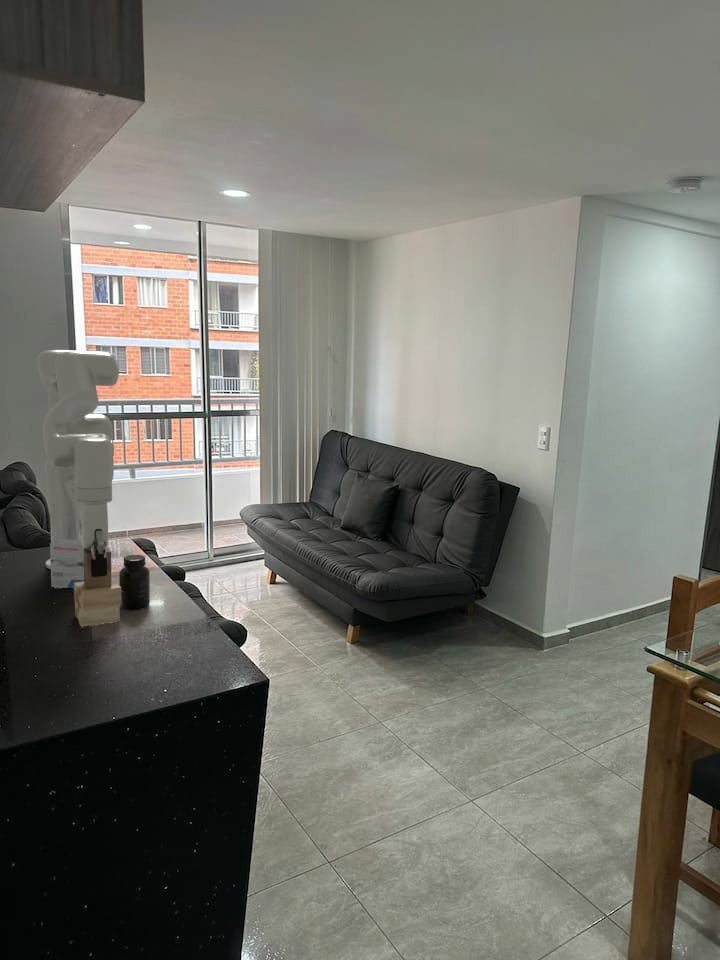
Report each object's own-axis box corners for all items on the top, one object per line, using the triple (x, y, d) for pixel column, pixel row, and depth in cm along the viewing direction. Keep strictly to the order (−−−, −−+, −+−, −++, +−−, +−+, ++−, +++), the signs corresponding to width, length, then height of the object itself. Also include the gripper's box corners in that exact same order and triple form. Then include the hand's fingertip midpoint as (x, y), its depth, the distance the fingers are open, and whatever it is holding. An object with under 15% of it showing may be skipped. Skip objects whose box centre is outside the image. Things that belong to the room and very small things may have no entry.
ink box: (92, 584, 169) (91, 540, 167) (82, 590, 164) (81, 545, 162) (61, 582, 170) (59, 538, 168) (50, 588, 165) (49, 542, 163)
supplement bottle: (113, 608, 153) (112, 559, 151) (130, 599, 159) (130, 551, 157) (139, 612, 151) (138, 562, 149) (155, 603, 158) (155, 555, 156)
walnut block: (84, 582, 147) (83, 548, 145) (107, 580, 149) (107, 546, 148) (87, 589, 142) (86, 553, 141) (111, 586, 145) (111, 551, 144)
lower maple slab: (75, 616, 148) (75, 599, 147) (112, 610, 152) (112, 594, 151) (81, 628, 141) (80, 611, 141) (119, 622, 145) (119, 605, 145)
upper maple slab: (74, 600, 147) (73, 583, 146) (110, 594, 152) (110, 577, 151) (83, 611, 141) (83, 593, 140) (121, 604, 145) (121, 587, 145)
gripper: (69, 488, 147) (71, 561, 150) (80, 503, 133) (83, 583, 136) (104, 486, 151) (106, 557, 154) (119, 500, 137) (120, 579, 139)
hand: (95, 569), depth 145 cm, fingers open, 9 cm apart
